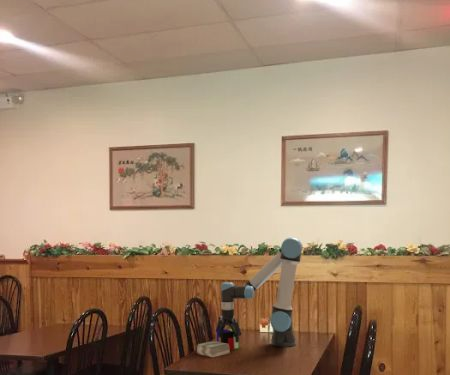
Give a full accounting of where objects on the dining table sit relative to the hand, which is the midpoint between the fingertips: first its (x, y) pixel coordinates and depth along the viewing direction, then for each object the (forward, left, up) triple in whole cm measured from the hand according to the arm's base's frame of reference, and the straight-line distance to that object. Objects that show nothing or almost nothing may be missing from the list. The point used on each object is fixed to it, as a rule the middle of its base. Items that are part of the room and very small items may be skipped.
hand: (228, 346), depth 278 cm
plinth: (-3, +15, -1) cm, 15 cm away
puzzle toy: (0, 0, -1) cm, 1 cm away
